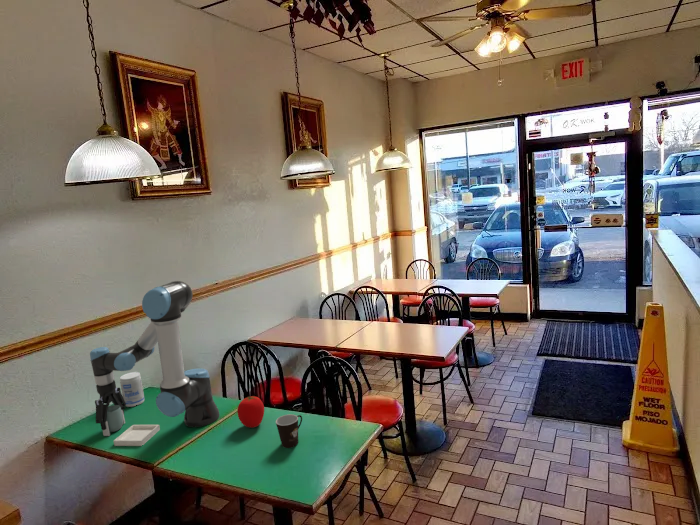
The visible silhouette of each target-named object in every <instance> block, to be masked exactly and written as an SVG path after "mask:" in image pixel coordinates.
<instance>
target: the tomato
mask: <svg viewBox="0 0 700 525" xmlns="http://www.w3.org/2000/svg"><path fill="white" fill-rule="evenodd" d="M236 411H237V416H238V417H237V418H238V420H239V421H240V423H241V424H242V425H243V426H244V427H246V428H250V429H251V428H256V427H258V426H259V425H261V423H262V421H263V419H264V415H265V406H264V402H263V401H262V400H261V398H259V397H258V396H255V395H252V396H247V397H245V398H243V399H242V400H241V401H240V402H239V404H238V406H237V410H236Z"/></svg>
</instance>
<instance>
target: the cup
mask: <svg viewBox="0 0 700 525" xmlns="http://www.w3.org/2000/svg"><path fill="white" fill-rule="evenodd" d="M106 421H108V426H109V431H110V433H114V432H118V431H119V430H120V429H122V427H123V425H124V424H123V417H122V411H121V407H120V406H119V405H114V404H113V405H109V406H108V410H107V417H106Z"/></svg>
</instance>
